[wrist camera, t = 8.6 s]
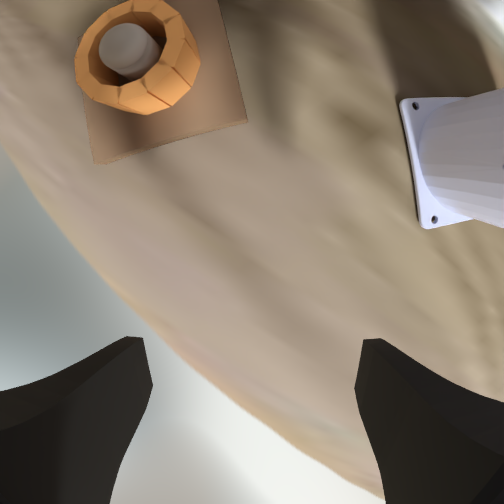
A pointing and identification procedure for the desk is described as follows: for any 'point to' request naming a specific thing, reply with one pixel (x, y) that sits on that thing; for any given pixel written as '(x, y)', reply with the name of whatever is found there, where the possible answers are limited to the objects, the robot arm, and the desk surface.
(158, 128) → the post stand
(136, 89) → the ring
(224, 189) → the desk surface
